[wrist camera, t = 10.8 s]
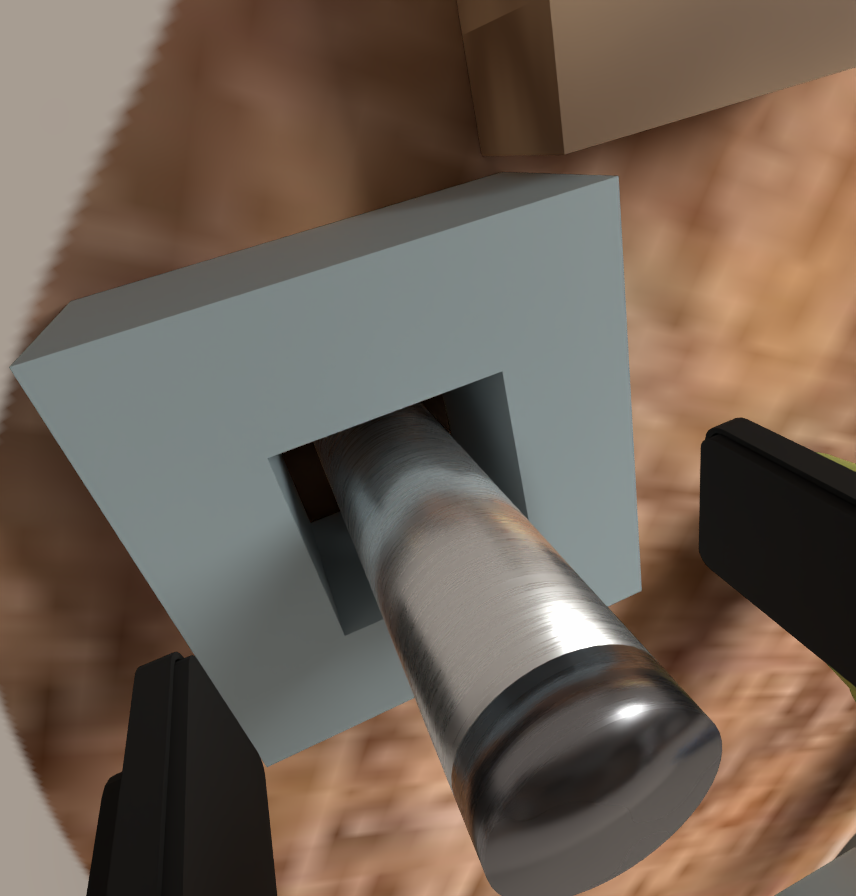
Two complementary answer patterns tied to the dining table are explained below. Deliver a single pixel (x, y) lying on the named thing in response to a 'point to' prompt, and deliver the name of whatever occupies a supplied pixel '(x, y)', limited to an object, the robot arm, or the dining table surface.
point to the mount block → (636, 63)
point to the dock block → (348, 421)
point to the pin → (516, 667)
